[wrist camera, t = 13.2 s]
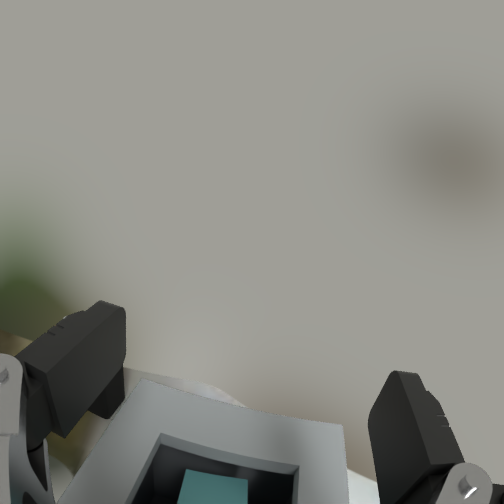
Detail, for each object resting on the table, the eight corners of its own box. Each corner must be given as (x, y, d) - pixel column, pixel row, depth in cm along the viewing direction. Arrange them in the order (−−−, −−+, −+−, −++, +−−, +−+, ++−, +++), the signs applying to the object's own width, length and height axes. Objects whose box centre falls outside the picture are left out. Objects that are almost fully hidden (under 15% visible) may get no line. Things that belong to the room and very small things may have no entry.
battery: (108, 422, 27) (99, 348, 24) (58, 396, 28) (44, 321, 25) (126, 398, 31) (124, 325, 28) (79, 376, 32) (71, 304, 29)
